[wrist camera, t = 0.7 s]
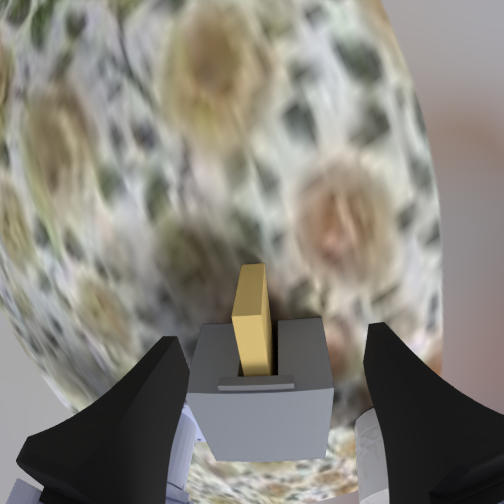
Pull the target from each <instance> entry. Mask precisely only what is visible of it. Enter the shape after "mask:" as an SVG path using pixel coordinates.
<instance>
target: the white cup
mask: <svg viewBox="0 0 504 504" xmlns="http://www.w3.org/2000/svg"><path fill="white" fill-rule="evenodd" d="M354 433H355V441H356V464H357V476H358V489H359V504H389V487H388V474H387V465H386V457H385V449H384V443H383V438H382V433H381V429H380V426H379V422H378V419H377V416H376V412H375V409H374V408H372V409H370V410H368V411H366V412H364V413H363V414H362V415H361V416H360V417H359V418H358V419H357V420H356V422H355V425H354Z"/></svg>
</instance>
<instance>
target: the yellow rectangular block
mask: <svg viewBox="0 0 504 504" xmlns="http://www.w3.org/2000/svg"><path fill="white" fill-rule="evenodd" d="M232 321H233V326H234V331H235V336H236V340H237V345H238V350H239V355H240V359H241V364H242V368H243V373H244V377H252V376H275V375H276V361H275V352H274V343H273V334H272V325H271V316H270V308H269V299H268V290H267V282H266V273H265V265H264V263H259V264H246V265H241V270H240V275H239V281H238V286H237V291H236V296H235V301H234V306H233V312H232Z"/></svg>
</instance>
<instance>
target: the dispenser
mask: <svg viewBox="0 0 504 504" xmlns="http://www.w3.org/2000/svg"><path fill="white" fill-rule="evenodd" d="M189 371H190V376H189V384H188V390H187V395H186V401H187V403H188V406H189V408H190V410H191V412H192V414H193V416H194V418H195V420H196V422H197V424H198V426H199V428H200V430H201V432H202V434H203V436H204V438H205V440H206V442H207V444H208V446H209V448H210V450H211V452H212V453H213V455H214V457H215V459H216V461H241V462H271V461H295V460H309V459H320V458H325V455H326V449H327V442H328V435H329V428H330V420H331V413H332V404H333V395H334V383H333V377H332V371H331V365H330V359H329V354H328V348H327V343H326V337H325V332H324V326H323V321H322V317H317V318H306V319H294V320H280V321H278V375H275V376H252V377H244V373H243V368H242V364H241V359H240V355H239V350H238V345H237V340H236V336H235V331H234V326H233V323H227V324H203V325H202V328H201V331H200V335H199V338H198V342H197V345H196V348H195V352H194V355H193V358H192V362H191V365H190V369H189Z"/></svg>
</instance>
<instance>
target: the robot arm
mask: <svg viewBox="0 0 504 504" xmlns="http://www.w3.org/2000/svg"><path fill="white" fill-rule="evenodd" d="M363 364H364V370H365V375H366V381H367V386H368V389H369V392H370V396H371V399H372V402H373V406H374V409H375V412H376V416H377V419H378V422H379V426H380V429H381V433H382V438H383V443H384V449H385V457H386V465H387V474H388V487H389V504H504V415H502V414H500V413H498V412H496V411H494V410H491V409H489V408H487V407H485V406H483V405H482V404H480V403H478V402H476V401H474V400H473V399H471V398H470V397H468V396H466V395H465V394H463V393H461V392H460V391H458V390H457V389H456V388H454V387H453V386H451V385H450V384H449V383H447V382H446V381H444V380H443V379H442V378H441V377H440V376H438V375H437V374H436V373H435V372H434V371H433V370H431V369H430V368H429V367H428V366H427V365H426V364H425V363H424V362H423V361H422V360H421V359H420V358H418V357H417V356H416V355H415V354H414V353H413V352H412V351H411V350H410V349H409V348H408V347H407V346H406V345H405V343H404V342H403V341H402V340H401V339H400V338H399V337H398V336H397V335H396V334H395V333H394V332H393V331H392V330H391V329H390V328H389V326H388V325H387V324H386V323H385V322H380V323H373V324H369V325H368V333H367V340H366V347H365V354H364V360H363ZM189 376H190V371H189V368H188V365H187V363H186V360H185V357H184V355H183V352H182V349H181V346H180V343H179V340H178V338H177V336H163V337H162V338H161V339H160V340H159V341H158V342H157V343H156V344H155V345H154V346H153V347H152V348H151V349H150V350H149V351H148V352H147V354H146V355H145V356H144V357H143V358H142V359H141V360H140V361H139V362H138V363H137V364H136V365H135V366H134V367H133V368H132V369H131V370H130V371H129V372H128V373H127V374H126V375H125V376H124V377H123V378H122V379H121V380H120V381H119V382H118V383H117V384H116V385H115V386H113V387H112V388H111V389H110V390H109V391H108V392H106V393H105V394H104V395H103V396H102V397H100V398H99V399H98V400H96V401H95V402H94V403H92V404H91V405H90V406H88V407H86V408H85V409H83V410H82V411H80V412H79V413H77V414H76V415H74V416H73V417H71V418H69V419H67V420H65V421H64V422H62V423H60V424H58V425H56V426H54V427H52V428H49V429H47V430H45V431H42V432H40V433H37V434H34V435H32V436H29V437H27V439H26V441H25V443H24V445H23V447H22V449H21V451H20V453H19V455H18V457H17V459H16V462H17V464H18V465H19V467H20V468H21V469H23V470H24V471H25V472H26V473H27V474H29V475H30V476H31V477H32V478H34V479H35V480H36V481H38V482H39V483H40V484H42V485H43V486H44V489H43V491H41V490H39V489H37V488H35V487H34V486H32V485H30V484H28V483H26V482H24V481H23V480H21V479H17V480H16V482H15V484H14V486H13V489H12V491H11V493H10V496H9V498H8V500H7V503H6V504H194V503H193V502H192V501H189V500H188V498H189V493H188V492H185V487H186V483H187V478H188V473H189V468H190V463H191V459H192V454H193V449H194V444H195V441H200V442H206V440H205V438H204V436H203V434H202V432H201V430H200V428H199V426H198V424H197V422H196V420H195V418H194V416H193V414H192V412H191V410H190V408H189V406H188V403H187V402H185V399H186V395H187V390H188V384H189Z"/></svg>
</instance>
